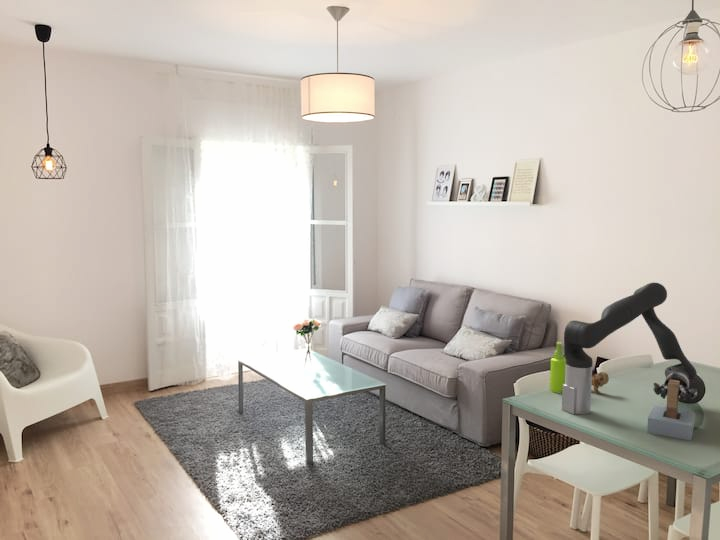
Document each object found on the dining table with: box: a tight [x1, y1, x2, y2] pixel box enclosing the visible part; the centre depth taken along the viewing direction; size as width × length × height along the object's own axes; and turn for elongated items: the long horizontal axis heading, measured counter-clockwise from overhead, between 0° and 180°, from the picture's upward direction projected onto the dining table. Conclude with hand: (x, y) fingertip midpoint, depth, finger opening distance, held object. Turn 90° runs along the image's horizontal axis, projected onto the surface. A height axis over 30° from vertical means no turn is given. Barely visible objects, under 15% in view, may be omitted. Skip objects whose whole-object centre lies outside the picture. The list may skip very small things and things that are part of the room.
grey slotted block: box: [646, 404, 696, 441], centre depth 205 cm, size 15×13×5 cm
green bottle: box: [549, 341, 566, 394], centre depth 246 cm, size 6×7×20 cm
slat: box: [665, 380, 680, 419], centre depth 204 cm, size 5×3×16 cm, turn 147°
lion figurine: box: [591, 371, 610, 395], centre depth 246 cm, size 15×5×9 cm, turn 48°
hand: (672, 397), depth 201 cm, fingers open, 4 cm apart
